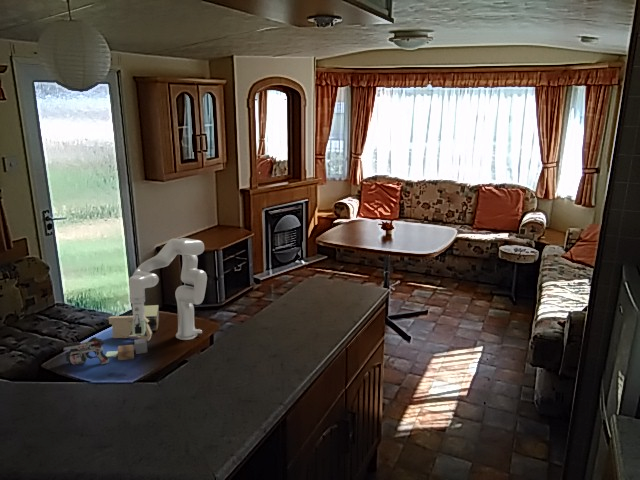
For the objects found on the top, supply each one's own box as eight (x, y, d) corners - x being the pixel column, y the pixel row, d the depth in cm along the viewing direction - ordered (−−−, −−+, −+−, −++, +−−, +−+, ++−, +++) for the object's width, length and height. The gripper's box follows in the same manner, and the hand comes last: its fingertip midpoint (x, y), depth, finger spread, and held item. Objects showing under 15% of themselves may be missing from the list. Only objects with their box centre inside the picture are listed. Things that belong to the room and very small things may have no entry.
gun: (153, 338, 311) (150, 315, 308) (150, 341, 308) (147, 317, 305) (114, 339, 314) (110, 315, 311) (111, 341, 311) (107, 317, 307)
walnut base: (134, 352, 293) (133, 344, 292) (133, 359, 286) (133, 350, 285) (118, 354, 291) (118, 346, 290) (118, 360, 283) (117, 352, 282)
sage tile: (118, 352, 293) (118, 351, 293) (116, 356, 287) (116, 355, 287) (107, 352, 292) (107, 351, 292) (105, 357, 286) (104, 356, 286)
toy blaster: (70, 367, 281) (63, 341, 277) (110, 360, 281) (103, 334, 278) (68, 370, 277) (60, 344, 273) (108, 363, 278) (101, 337, 274)
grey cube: (145, 348, 299) (145, 338, 298) (147, 352, 294) (146, 342, 293) (134, 349, 297) (134, 339, 295) (136, 354, 291) (135, 344, 290)
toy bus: (140, 333, 318) (140, 317, 317) (143, 320, 340) (143, 305, 339) (157, 331, 321) (157, 316, 319) (159, 319, 343) (159, 304, 341)
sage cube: (145, 329, 283) (145, 319, 282) (144, 334, 278) (143, 323, 276) (134, 330, 282) (133, 320, 281) (132, 334, 276) (132, 324, 275)
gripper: (143, 304, 268) (144, 337, 272) (146, 293, 284) (148, 324, 289) (127, 305, 267) (129, 338, 271) (132, 293, 283) (133, 325, 287)
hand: (139, 330), depth 280 cm, fingers closed on sage cube, 6 cm apart
